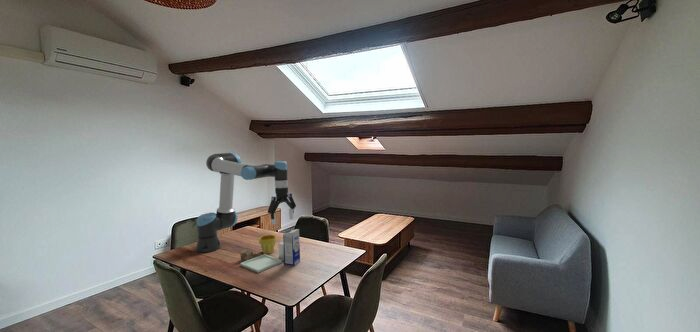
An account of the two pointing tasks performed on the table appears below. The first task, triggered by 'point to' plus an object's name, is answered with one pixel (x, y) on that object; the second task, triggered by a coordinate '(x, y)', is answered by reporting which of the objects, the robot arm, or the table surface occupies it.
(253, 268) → the tray
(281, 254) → the white rounded capsule
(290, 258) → the milk carton
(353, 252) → the table surface
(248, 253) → the walnut block
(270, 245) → the plant pot
